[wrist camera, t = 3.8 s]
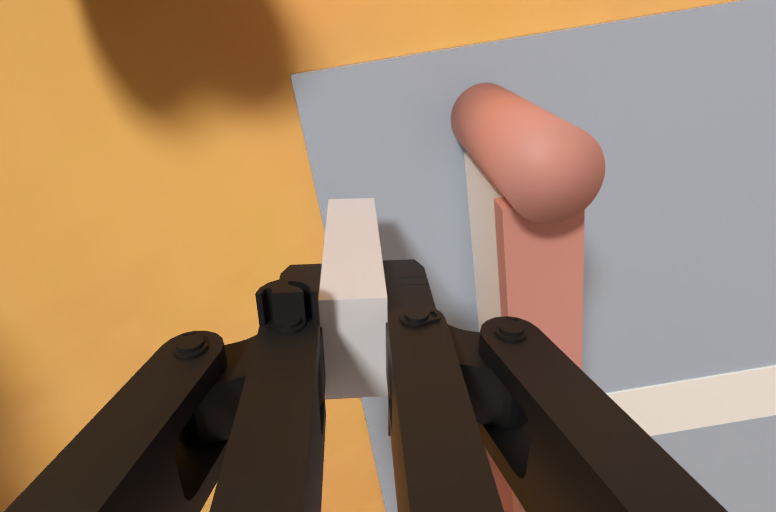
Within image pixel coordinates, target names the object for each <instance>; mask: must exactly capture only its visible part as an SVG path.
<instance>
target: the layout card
mask: <svg viewBox="0 0 776 512" xmlns="http://www.w3.org/2000/svg"><path fill="white" fill-rule="evenodd" d="M291 80H292V84H293V89H294V93H295V98H296V103H297V107H298V112H299V116H300V121H301V125H302V130H303V135H304V139H305V144H306V148H307V153H308V157H309V162H310V166H311V171H312V176H313V180H314V185H315V189H316V194H317V198H318V203H319V208H320V212H321V217H322V221H323V226H324V230H325V229H326V219H327V210H328V200H329V199H355V198H374V201H375V209H376V216H377V224H378V231H379V239H380V246H381V254H382V260H408V259H415V260H416V261H417V262H418V263H420V264H421V265H422V266H423V267H424V268H425V272H426V275H427V279H428V282H429V286H430V289H431V293H432V296H433V300H434V303H435V307H436V309H437V310H439V311H440V312H442V314H443V315H444V317H445V318H446V322H447V324H449V325H450V326H453V327H456V328H458V329H463V330H467V331H474V332H479V324H478V312H477V301H476V289H475V277H474V265H473V254H472V242H471V230H470V219H469V207H468V195H467V184H466V172H465V160H464V152H467V151H466V149H465V148H464V147H463V146H462V145H461V143H460V142H459V141H458V140H457V138H456V137H455V135H454V133H453V131H452V128H451V112H452V108H453V106H454V104H455V102H456V100H457V98H458V97H459V96H460V95H461V94H462V93H463V92H464V91H465V90H466V89H468V88H469V87H471V86H473V85H476V84H480V83H493V84H497V85H499V86H501V87H503V88H505V89H507V90H509V91H511V92H513V93H514V94H516V95H518V96H520V97H522V98H524V99H526V100H528V101H529V102H531V103H533V104H535V105H537V106H539V107H541V108H543V109H544V110H546V111H548V112H550V113H552V114H554V115H556V116H558V117H559V118H561V119H563V120H565V121H567V122H569V123H571V124H573V125H575V126H576V127H578V128H580V129H582V130H584V131H586V132H587V133H589V134H590V135H591V136H592V137H593V138H594V139H595V140H596V141H597V142H598V144H599V145H600V147H601V149H602V151H603V154H604V158H605V176H604V180H603V183H602V186H601V188H600V190H599V192H598V194H597V196H596V197H595V199H594V200H593V201H592V202H591V204H590V205H589V206H588V207H587V208H586V209H585V223H584V277H583V330H582V371H583V372H584V373H585V374H586V375H587V376H588V377H589V378H590V379H592V380H593V381H594V382H595V383H596V384H597V385H598V386H599V387H600V388H601V389H602V390H603V391H604V392H605V393H606V394H607V395H608V396H609V397H610V398H611V399H612V400H613V401H614V402H615V403H616V404H617V405H618V406H619V407H620V408H621V409H623V410H624V411H625V412H626V413H627V414H628V415H629V416H630V417H631V418H632V419H633V420H634V421H635V422H636V423H637V424H638V425H639V426H640V427H641V428H642V429H643V430H644V431H645V432H646V433H647V434H648V435H649V436H650V437H651V438H653V439H654V440H655V441H656V442H657V443H658V444H659V445H660V446H661V447H662V448H663V449H664V450H665V451H666V452H667V453H668V454H669V455H670V456H671V457H672V458H673V459H674V460H675V461H676V462H677V463H678V464H679V465H680V466H681V467H683V468H684V469H685V470H686V471H687V472H688V473H689V474H690V475H691V476H692V477H693V478H694V479H695V480H696V481H697V482H698V483H699V484H700V485H701V486H702V487H703V488H704V489H705V490H706V491H707V492H708V493H709V494H710V495H711V496H712V497H714V498H715V499H716V500H717V501H718V502H719V503H720V504H721V505H722V506H723V507H724V508H725V509H726V510H727V511H728V512H776V0H739V1H733V2H727V3H721V4H715V5H708V6H702V7H696V8H690V9H684V10H678V11H672V12H666V13H660V14H654V15H648V16H642V17H636V18H630V19H624V20H617V21H611V22H605V23H599V24H593V25H587V26H581V27H575V28H569V29H563V30H557V31H551V32H545V33H539V34H533V35H527V36H520V37H514V38H508V39H502V40H496V41H490V42H484V43H478V44H472V45H466V46H460V47H454V48H448V49H442V50H436V51H429V52H423V53H417V54H411V55H405V56H399V57H393V58H387V59H381V60H375V61H369V62H363V63H357V64H351V65H345V66H339V67H332V68H326V69H320V70H314V71H308V72H302V73H296V74H292V75H291ZM361 400H362V404H363V409H364V413H365V418H366V422H367V427H368V432H369V436H370V441H371V445H372V450H373V454H374V459H375V463H376V468H377V473H378V477H379V482H380V486H381V491H382V495H383V500H384V505H385V509H386V512H398V511H397V500H396V489H395V479H394V468H393V457H392V447H391V436H388V396H382V397H362V398H361Z"/></svg>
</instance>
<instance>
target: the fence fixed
mask: <svg viewBox="0 0 776 512" xmlns="http://www.w3.org/2000/svg"><path fill="white" fill-rule="evenodd" d="M485 450H486V448H485ZM486 453H487V457H488V460H489V463H490V466H491V470H492V473H493V476H494V480H495V483H496V486H497V489H498V493H499V496H500V499H501V503H502V506H503V509H504V512H513V499H512V489H511V488H510V486H509V484H508V483H507V481H506V480H505V478H504V477H503V475H502V473H501V472H500V470H499V469H498V467H497V465H496V464H495V462H494V461H493V459H492V458H491V456H490V454H489V453H488V451H487V450H486Z"/></svg>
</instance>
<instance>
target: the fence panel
mask: <svg viewBox="0 0 776 512" xmlns="http://www.w3.org/2000/svg"><path fill="white" fill-rule="evenodd" d="M451 128H452V131H453V133H454V135H455V137H456V138H457V140H458V141H459V142H460V143H461V145H462V146H463V147H464V148H465V149H466V151H467V152H464V160H465V172H466V184H467V195H468V207H469V219H470V230H471V242H472V254H473V265H474V277H475V289H476V301H477V312H478V324H479V332H480V329H481V325H482V324H483V323H484V322H486V321H487V320H489V319H492V318H495V317H504V316H511V317H517V318H520V319H523V320H526V321H529V322H531V323H532V324H533V325H535V326H536V327H538V328H539V329H540V330H541V331H542V332H543V333H544V334H545V335H546V336H547V337H548V338H549V339H550V340H551V341H552V342H553V343H554V344H555V345H556V346H557V347H558V348H559V349H560V350H562V351H563V352H564V353H565V354H566V355H567V356H568V357H569V358H570V359H571V360H572V361H573V362H574V363H575V364H576V365H577V366H578V367H579V368H580V369H581V370H582V330H583V277H584V223H585V209H586V208H587V207H588V206H589V205H590V204H591V202H592V201H593V200H594V199H595V197H596V196H597V194H598V192H599V190H600V188H601V186H602V183H603V180H604V176H605V158H604V154H603V151H602V149H601V147H600V145H599V144H598V142H597V141H596V140H595V139H594V138H593V137H592V136H591V135H590V134H589V133H587V132H586V131H584V130H582V129H580V128H578V127H576V126H575V125H573V124H571V123H569V122H567V121H565V120H563V119H561V118H559V117H558V116H556V115H554V114H552V113H550V112H548V111H546V110H544V109H543V108H541V107H539V106H537V105H535V104H533V103H531V102H529V101H528V100H526V99H524V98H522V97H520V96H518V95H516V94H514V93H513V92H511V91H509V90H507V89H505V88H503V87H501V86H499V85H497V84H493V83H480V84H476V85H473V86H471V87H469V88H468V89H466V90H465V91H464V92H463V93H462V94H461V95H460V96H459V97H458V98H457V100H456V102H455V104H454V106H453V108H452V112H451ZM512 499H513V512H526V511H525V510H524V508H523V506H522V505H521V503H520V502H519V500H518V499H517V497H516V495H515V494H514V492H513V491H512Z"/></svg>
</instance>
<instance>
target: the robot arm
mask: <svg viewBox="0 0 776 512" xmlns="http://www.w3.org/2000/svg"><path fill="white" fill-rule="evenodd" d="M255 295H256V302H257V310H258V318H259V325H260V327H259V330H258V334H257V335H256V336H253V337H251V338H249V339H247V340H243V341H240V342H236V343H232V344H228V345H224V343H223V339H222V337H220V336H219V335H218V334H216V333H213V332H209V331H191V332H187V333H183V334H181V335H178V336H176V337H174V338H172V339H170V340H169V341H167V342H166V343H165V344H163V345H162V346H161V347H160V348H159V349H158V350H157V351H156V352H155V353H154V355H153V356H152V357H151V358H150V359H149V360H148V361H147V362H146V363H145V364H144V365H143V366H142V367H141V368H140V369H139V370H138V371H137V372H136V373H135V375H134V376H133V377H132V378H131V379H130V380H129V381H128V382H127V383H126V384H125V385H124V386H123V387H122V388H121V389H120V390H119V391H118V392H117V393H116V394H115V396H114V397H113V398H112V399H111V400H110V401H109V402H108V403H107V404H106V405H105V406H104V407H103V408H102V409H101V410H100V411H99V412H98V413H97V414H96V415H95V417H94V418H93V419H92V420H91V421H90V422H89V423H88V424H87V425H86V426H85V427H84V428H83V429H82V430H81V431H80V432H79V433H78V434H77V435H76V436H75V438H74V439H73V440H72V441H71V442H70V443H69V444H68V445H67V446H66V447H65V448H64V449H63V450H62V451H61V452H60V453H59V454H58V455H57V456H56V458H55V459H54V460H53V461H52V462H51V463H50V464H49V465H48V466H47V467H46V468H45V469H44V470H43V471H42V472H41V473H40V474H39V475H38V476H37V477H36V479H35V480H34V481H33V482H32V483H31V484H30V485H29V486H28V487H27V488H26V489H25V490H24V491H23V492H22V493H21V494H20V495H19V496H18V497H17V498H16V500H15V501H14V502H13V503H12V504H11V505H10V506H9V507H8V508H7V509H6V510H5V511H4V512H200V511H201V509H202V508H203V506H204V504H205V502H206V501H207V499H208V497H209V495H210V494H211V492H212V490H213V488H214V487H215V485H216V483H217V486H216V489H215V493H214V497H213V501H212V504H211V508H210V512H321V500H322V481H323V461H324V441H325V422H326V409H325V399H342V398H362V397H382V396H388V436H391V447H392V457H393V468H394V479H395V489H396V500H397V511H398V512H504V509H503V506H502V503H501V499H500V496H499V493H498V489H497V486H496V483H495V480H494V476H493V473H492V470H491V466H490V463H489V460H488V457H487V453H486V450H487V451H488V453H489V454H490V456H491V458H492V459H493V461H494V462H495V464H496V465H497V467H498V469H499V470H500V472H501V473H502V475H503V477H504V478H505V480H506V481H507V483H508V484H509V486H510V488H511V489H512V491H513V492H514V494H515V495H516V497H517V499H518V500H519V502H520V503H521V505H522V506H523V508H524V510H525V511H526V512H728V511H727V510H726V509H725V508H724V507H723V506H722V505H721V504H720V503H719V502H718V501H717V500H716V499H715V498H714V497H712V496H711V495H710V494H709V493H708V492H707V491H706V490H705V489H704V488H703V487H702V486H701V485H700V484H699V483H698V482H697V481H696V480H695V479H694V478H693V477H692V476H691V475H690V474H689V473H688V472H687V471H686V470H685V469H684V468H683V467H681V466H680V465H679V464H678V463H677V462H676V461H675V460H674V459H673V458H672V457H671V456H670V455H669V454H668V453H667V452H666V451H665V450H664V449H663V448H662V447H661V446H660V445H659V444H658V443H657V442H656V441H655V440H654V439H653V438H651V437H650V436H649V435H648V434H647V433H646V432H645V431H644V430H643V429H642V428H641V427H640V426H639V425H638V424H637V423H636V422H635V421H634V420H633V419H632V418H631V417H630V416H629V415H628V414H627V413H626V412H625V411H624V410H623V409H621V408H620V407H619V406H618V405H617V404H616V403H615V402H614V401H613V400H612V399H611V398H610V397H609V396H608V395H607V394H606V393H605V392H604V391H603V390H602V389H601V388H600V387H599V386H598V385H597V384H596V383H595V382H594V381H593V380H592V379H590V378H589V377H588V376H587V375H586V374H585V373H584V372H583V371H582V370H581V369H580V368H579V367H578V366H577V365H576V364H575V363H574V362H573V361H572V360H571V359H570V358H569V357H568V356H567V355H566V354H565V353H564V352H563V351H562V350H560V349H559V348H558V347H557V346H556V345H555V344H554V343H553V342H552V341H551V340H550V339H549V338H548V337H547V336H546V335H545V334H544V333H543V332H542V331H541V330H540V329H539V328H538V327H536V326H535V325H533V324H532V323H531V322H529V321H526V320H523V319H520V318H517V317H511V316H504V317H495V318H492V319H489V320H487V321H486V322H484V323H483V324H482V325H481V329H480V332H474V331H467V330H463V329H458V328H456V327H453V326H450V325H449V324H447V322H446V318H445V317H444V315H443V314H442V312H440V311H439V310H437V309H436V307H435V303H434V300H433V296H432V293H431V289H430V286H429V282H428V279H427V275H426V272H425V268H424V267H423V266H422V265H421V264H420V263H418V262H417V261H416V260H415V259H408V260H382V254H381V246H380V239H379V231H378V224H377V216H376V209H375V201H374V198H355V199H329V200H328V210H327V219H326V229H325V239H324V249H323V259H322V264H303V265H290V266H289V267H288V268H286V269H285V270H284V271H283V272H282V273H281V275H280V279H279V280H276V281H273V282H270V283H267V284H265V285H264V286H262V287H261V288H259V290H258V291H257V292H256V294H255ZM485 448H486V450H485ZM217 481H218V482H217Z"/></svg>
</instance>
